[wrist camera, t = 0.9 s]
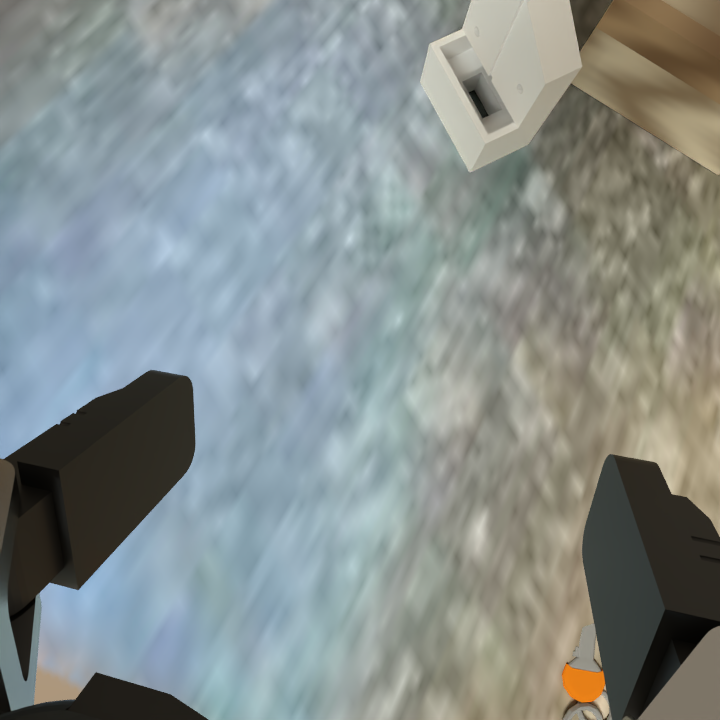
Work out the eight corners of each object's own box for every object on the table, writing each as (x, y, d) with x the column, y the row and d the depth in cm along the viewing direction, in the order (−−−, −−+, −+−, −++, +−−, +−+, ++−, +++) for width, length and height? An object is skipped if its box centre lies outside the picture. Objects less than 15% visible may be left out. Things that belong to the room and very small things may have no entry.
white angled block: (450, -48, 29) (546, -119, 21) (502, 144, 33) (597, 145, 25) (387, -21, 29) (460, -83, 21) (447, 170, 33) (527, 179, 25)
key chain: (632, 864, 27) (642, 878, 26) (496, 793, 27) (501, 805, 26) (731, 614, 29) (743, 619, 28) (601, 548, 29) (609, 551, 28)
